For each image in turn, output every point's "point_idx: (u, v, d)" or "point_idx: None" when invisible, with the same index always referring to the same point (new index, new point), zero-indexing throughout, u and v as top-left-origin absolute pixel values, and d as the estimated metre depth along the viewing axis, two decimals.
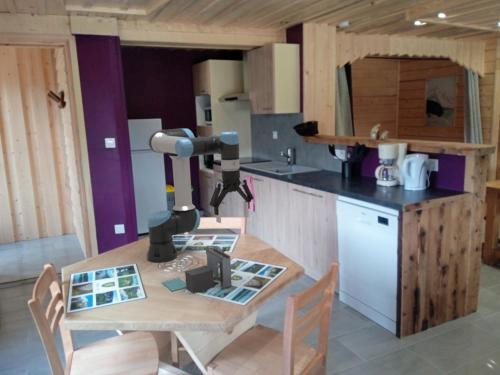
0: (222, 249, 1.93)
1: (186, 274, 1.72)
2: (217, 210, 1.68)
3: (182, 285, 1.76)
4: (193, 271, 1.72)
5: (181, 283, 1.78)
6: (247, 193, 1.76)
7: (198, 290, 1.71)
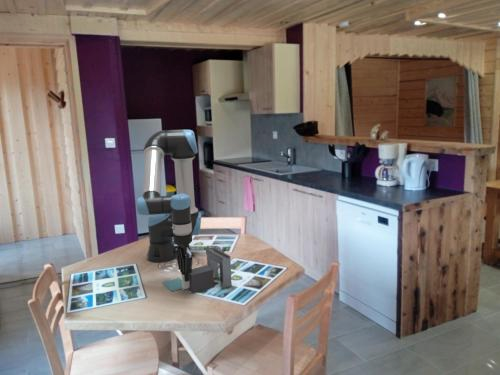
0: (222, 249, 1.93)
1: None
2: (182, 275, 1.70)
3: None
4: (193, 270, 1.72)
5: (181, 283, 1.78)
6: None
7: (198, 290, 1.71)
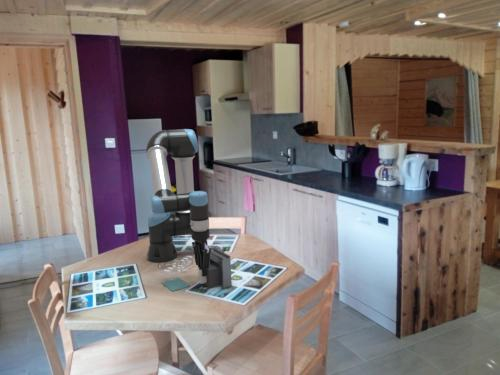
0: (222, 249, 1.93)
1: None
2: None
3: (182, 285, 1.76)
4: (210, 266, 1.76)
5: (181, 283, 1.78)
6: None
7: (215, 285, 1.75)
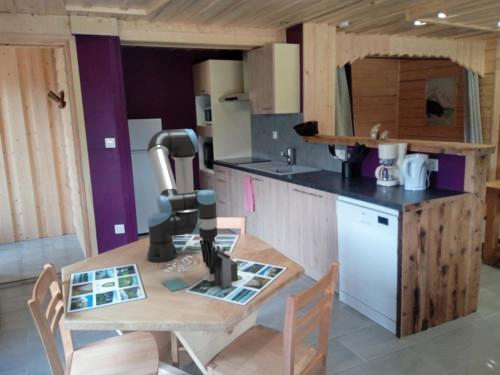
0: (222, 249, 1.93)
1: None
2: (207, 268, 1.76)
3: (182, 285, 1.76)
4: (218, 264, 1.78)
5: (181, 283, 1.78)
6: None
7: None
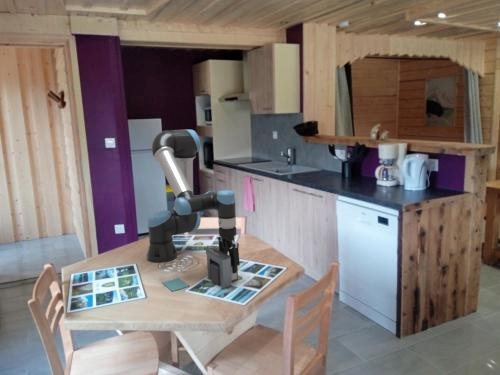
0: None
1: (211, 267, 1.78)
2: None
3: (182, 285, 1.76)
4: (218, 264, 1.79)
5: (181, 283, 1.78)
6: None
7: None
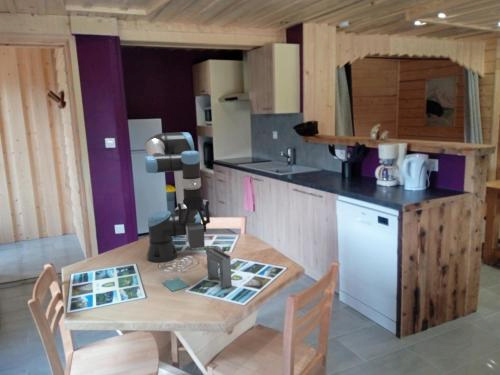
0: (222, 249, 1.93)
1: (192, 232, 1.70)
2: (185, 229, 1.77)
3: (182, 285, 1.76)
4: (194, 227, 1.73)
5: (181, 283, 1.78)
6: (206, 215, 1.78)
7: None
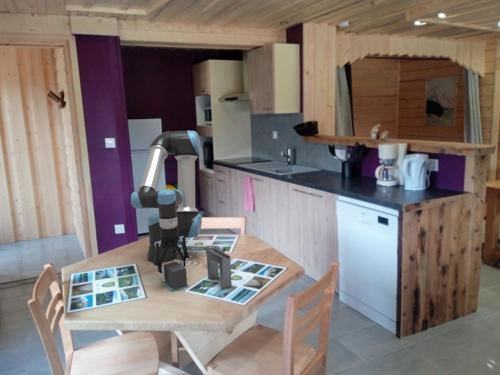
0: (222, 249, 1.93)
1: (175, 273, 1.72)
2: (160, 268, 1.75)
3: None
4: (175, 268, 1.74)
5: None
6: (184, 251, 1.81)
7: None
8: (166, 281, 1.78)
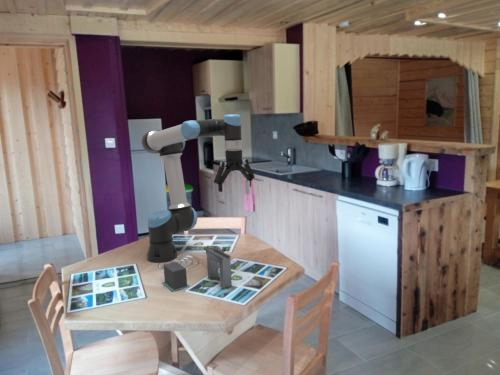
0: (222, 249, 1.93)
1: (175, 273, 1.72)
2: (221, 187, 1.81)
3: None
4: (175, 268, 1.74)
5: None
6: (249, 172, 1.89)
7: None
8: (166, 281, 1.78)
